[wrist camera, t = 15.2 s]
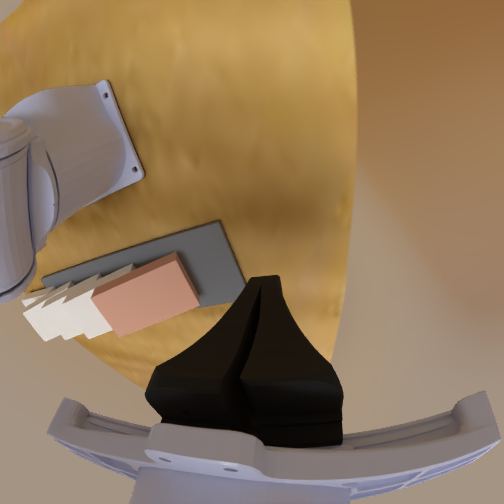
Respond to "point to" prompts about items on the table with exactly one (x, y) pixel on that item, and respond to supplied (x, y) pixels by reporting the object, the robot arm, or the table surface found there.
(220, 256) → the mat
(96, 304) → the domino
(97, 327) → the domino
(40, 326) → the domino
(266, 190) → the table surface
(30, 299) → the domino
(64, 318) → the domino
